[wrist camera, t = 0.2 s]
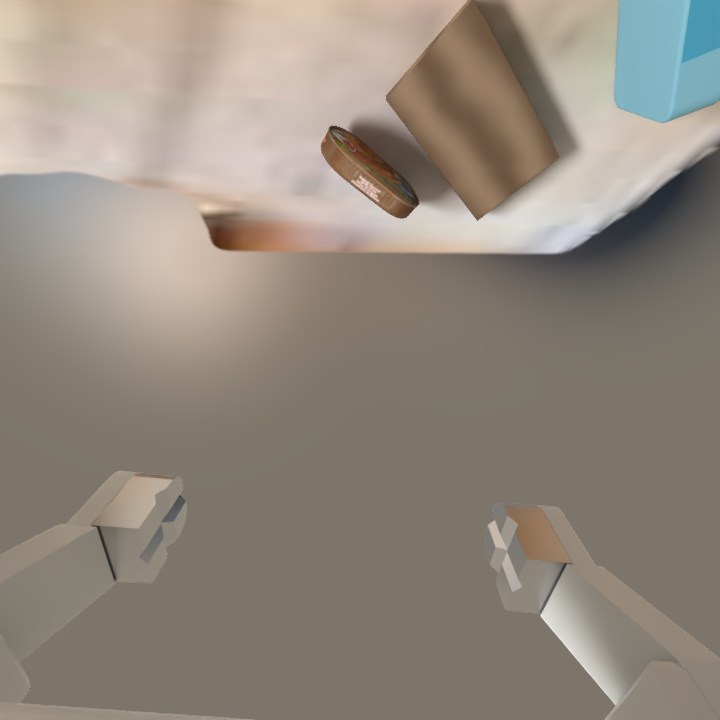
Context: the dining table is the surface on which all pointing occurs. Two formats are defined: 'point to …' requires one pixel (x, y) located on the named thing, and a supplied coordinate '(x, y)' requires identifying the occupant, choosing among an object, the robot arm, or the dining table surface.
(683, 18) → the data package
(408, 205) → the tin
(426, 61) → the walnut block
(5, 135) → the dining table surface
